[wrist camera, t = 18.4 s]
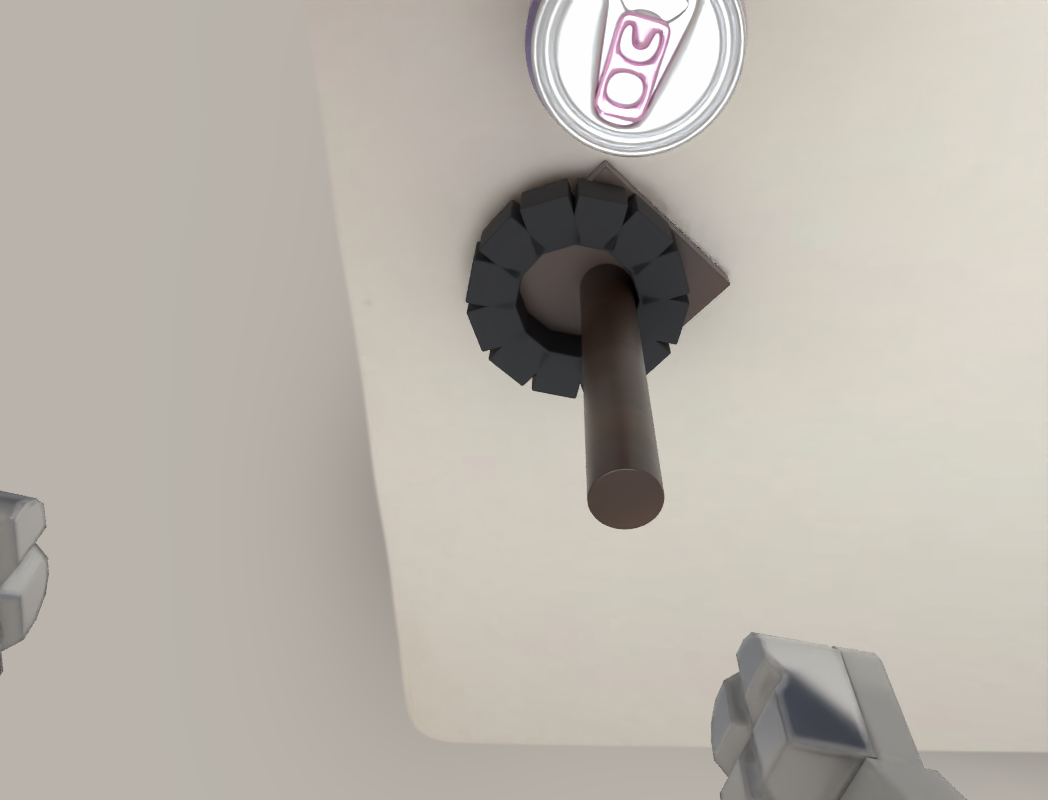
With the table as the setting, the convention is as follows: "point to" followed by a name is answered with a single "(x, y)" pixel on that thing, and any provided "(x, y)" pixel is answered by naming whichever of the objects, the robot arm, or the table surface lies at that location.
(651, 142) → the beverage can
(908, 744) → the robot arm
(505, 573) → the table surface
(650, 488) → the post
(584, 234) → the ring
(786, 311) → the table surface
